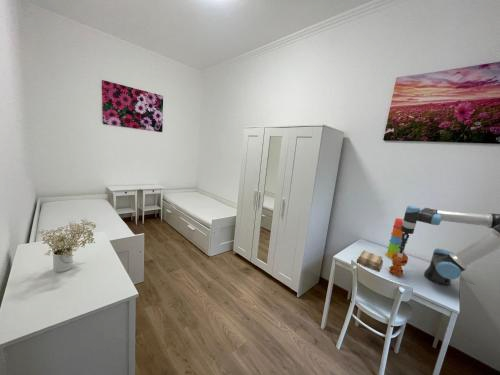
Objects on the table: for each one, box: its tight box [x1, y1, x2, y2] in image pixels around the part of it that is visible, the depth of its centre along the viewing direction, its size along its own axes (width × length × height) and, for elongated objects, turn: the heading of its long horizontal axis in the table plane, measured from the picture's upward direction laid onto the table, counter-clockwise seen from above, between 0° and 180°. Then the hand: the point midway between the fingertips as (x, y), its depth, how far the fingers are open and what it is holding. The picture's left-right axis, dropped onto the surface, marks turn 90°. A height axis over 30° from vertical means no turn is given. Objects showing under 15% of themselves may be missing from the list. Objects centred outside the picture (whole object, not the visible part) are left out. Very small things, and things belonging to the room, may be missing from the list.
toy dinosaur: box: [388, 251, 409, 277], centre depth 160 cm, size 11×11×18 cm
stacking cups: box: [385, 217, 404, 259], centre depth 184 cm, size 10×10×35 cm
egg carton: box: [356, 250, 384, 273], centre depth 172 cm, size 16×16×6 cm
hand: (400, 253), depth 159 cm, fingers open, 13 cm apart
